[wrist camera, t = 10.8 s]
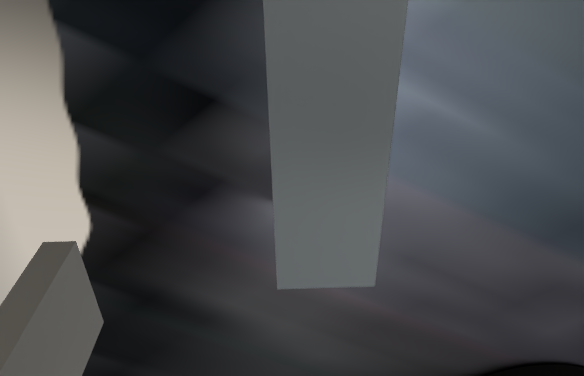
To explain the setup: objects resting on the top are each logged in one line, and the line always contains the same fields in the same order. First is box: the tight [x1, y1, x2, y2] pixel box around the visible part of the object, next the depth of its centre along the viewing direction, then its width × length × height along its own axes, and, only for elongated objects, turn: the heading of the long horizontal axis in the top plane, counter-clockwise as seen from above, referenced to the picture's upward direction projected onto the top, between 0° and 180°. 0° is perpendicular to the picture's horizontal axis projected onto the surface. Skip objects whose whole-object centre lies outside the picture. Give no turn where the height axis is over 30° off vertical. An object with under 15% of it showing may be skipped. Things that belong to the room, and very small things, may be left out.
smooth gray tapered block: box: [263, 0, 408, 289], centre depth 16 cm, size 19×4×6 cm, turn 1°
